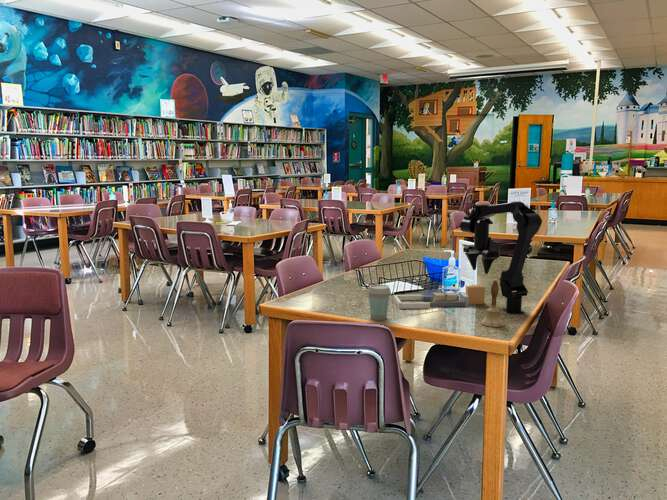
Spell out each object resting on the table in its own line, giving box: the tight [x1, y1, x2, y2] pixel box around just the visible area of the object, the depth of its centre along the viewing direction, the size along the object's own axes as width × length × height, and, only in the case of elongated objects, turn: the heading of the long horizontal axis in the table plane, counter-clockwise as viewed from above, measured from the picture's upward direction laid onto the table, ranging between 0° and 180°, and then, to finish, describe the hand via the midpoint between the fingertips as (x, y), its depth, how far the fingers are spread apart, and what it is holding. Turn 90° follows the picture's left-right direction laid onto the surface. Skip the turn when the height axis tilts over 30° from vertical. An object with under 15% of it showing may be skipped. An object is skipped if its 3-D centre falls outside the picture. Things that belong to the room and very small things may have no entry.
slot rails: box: [422, 295, 467, 308], centre depth 239 cm, size 11×15×2 cm
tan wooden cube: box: [432, 292, 445, 302], centre depth 239 cm, size 4×4×4 cm
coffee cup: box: [367, 283, 391, 321], centre depth 216 cm, size 9×9×12 cm
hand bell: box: [480, 279, 505, 328], centre depth 209 cm, size 8×8×16 cm
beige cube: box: [444, 292, 458, 301], centre depth 239 cm, size 4×4×4 cm
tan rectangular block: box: [459, 284, 486, 306], centre depth 240 cm, size 6×9×7 cm
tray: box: [392, 294, 431, 309], centre depth 238 cm, size 14×12×2 cm
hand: (480, 271), depth 242 cm, fingers open, 9 cm apart
